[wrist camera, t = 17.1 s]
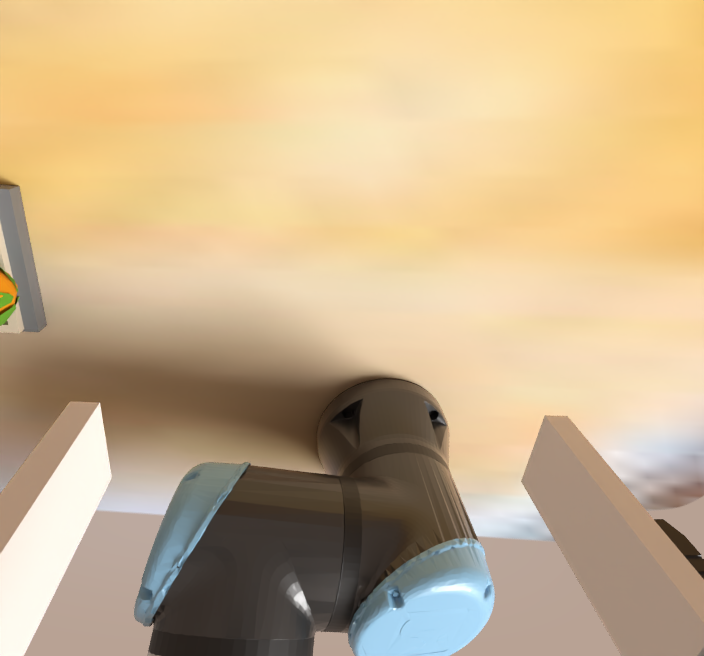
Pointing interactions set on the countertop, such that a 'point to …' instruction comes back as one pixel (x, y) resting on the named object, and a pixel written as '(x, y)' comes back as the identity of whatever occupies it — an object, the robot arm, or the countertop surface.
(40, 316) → the board
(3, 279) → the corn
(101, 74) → the countertop surface
